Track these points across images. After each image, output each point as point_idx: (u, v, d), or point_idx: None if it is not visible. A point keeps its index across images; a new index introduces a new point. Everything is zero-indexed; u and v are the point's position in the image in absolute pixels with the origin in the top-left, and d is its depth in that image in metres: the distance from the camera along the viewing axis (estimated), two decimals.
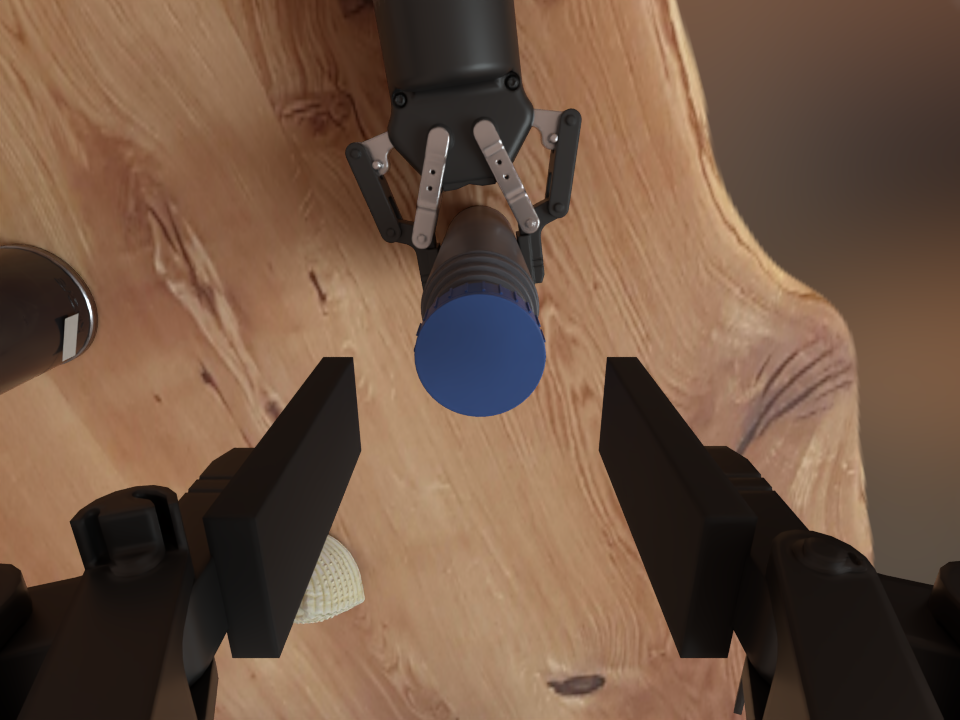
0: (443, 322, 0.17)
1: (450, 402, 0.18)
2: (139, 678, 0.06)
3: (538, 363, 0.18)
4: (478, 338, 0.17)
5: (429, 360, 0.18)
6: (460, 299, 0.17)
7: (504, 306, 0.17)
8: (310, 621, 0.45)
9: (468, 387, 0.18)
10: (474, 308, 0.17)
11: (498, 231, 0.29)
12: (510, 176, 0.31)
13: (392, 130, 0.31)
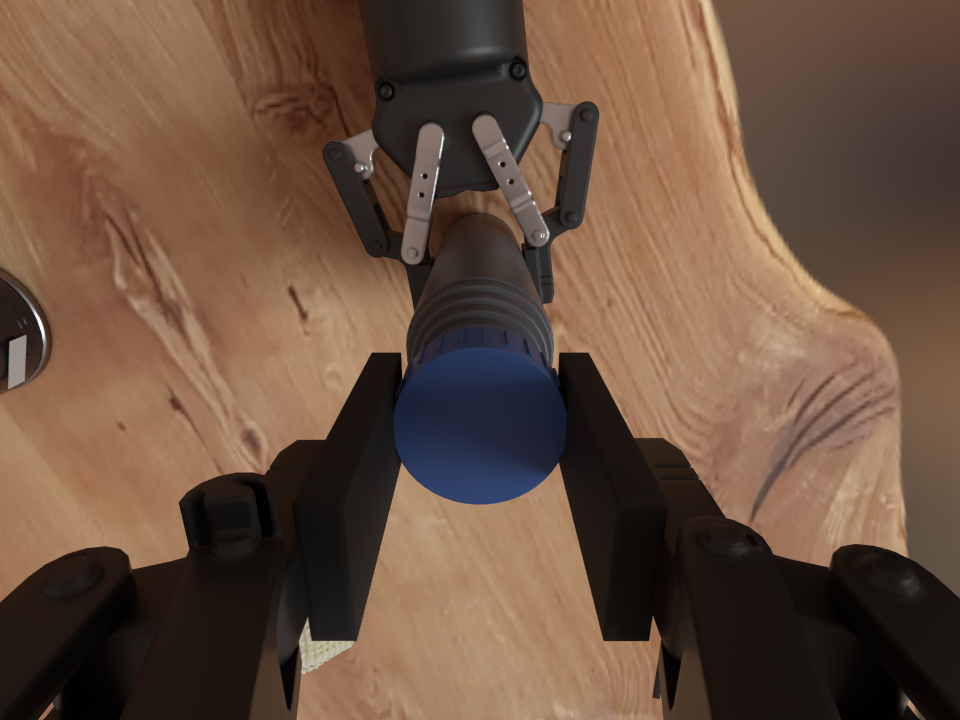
0: (430, 384, 0.13)
1: (440, 486, 0.14)
2: (240, 660, 0.06)
3: (558, 437, 0.13)
4: (477, 405, 0.13)
5: (412, 434, 0.13)
6: (453, 354, 0.12)
7: (513, 363, 0.13)
8: None
9: (464, 467, 0.13)
10: (472, 366, 0.13)
11: (501, 247, 0.24)
12: (515, 181, 0.27)
13: (377, 127, 0.27)
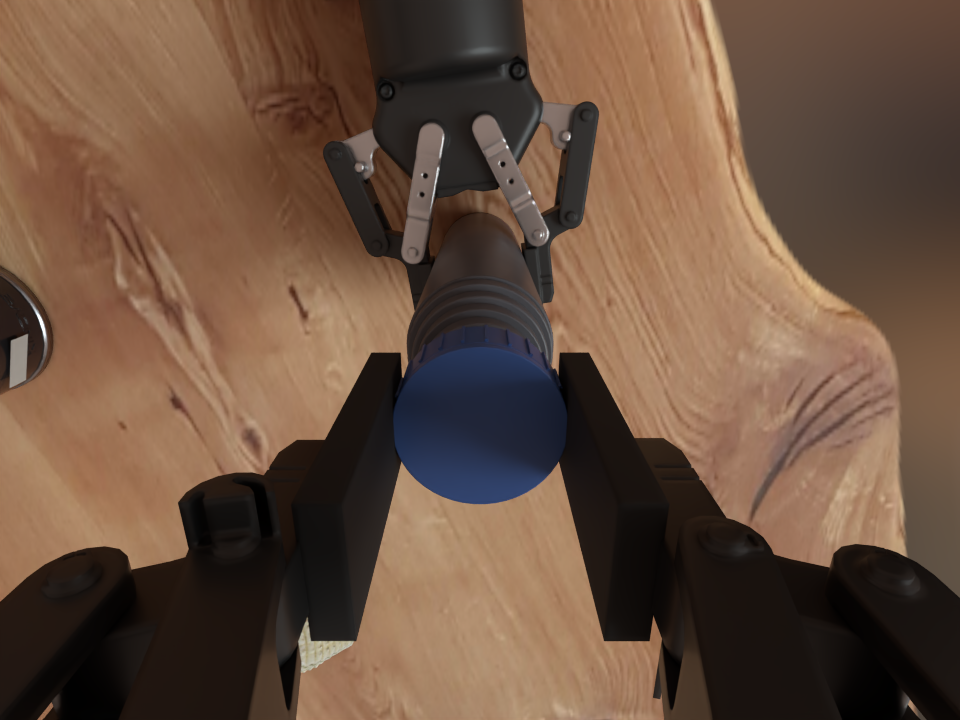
0: (444, 480, 0.14)
1: (552, 451, 0.13)
2: (239, 660, 0.06)
3: (467, 357, 0.12)
4: (453, 438, 0.13)
5: (499, 485, 0.14)
6: (409, 468, 0.14)
7: (401, 418, 0.13)
8: None
9: (525, 434, 0.13)
10: (415, 451, 0.13)
11: (501, 246, 0.24)
12: (515, 180, 0.27)
13: (377, 127, 0.27)
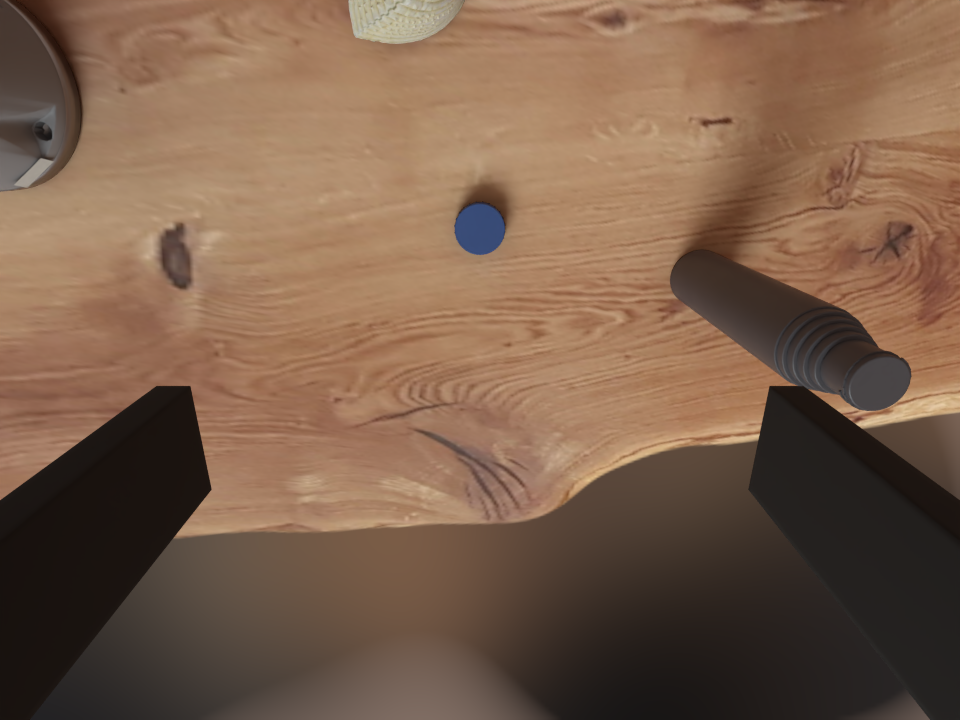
0: (460, 233, 0.46)
1: (488, 249, 0.47)
2: None
3: (494, 211, 0.46)
4: (472, 225, 0.46)
5: (470, 246, 0.47)
6: (456, 222, 0.46)
7: (467, 210, 0.46)
8: None
9: (487, 240, 0.47)
10: (462, 220, 0.46)
11: None
12: None
13: None
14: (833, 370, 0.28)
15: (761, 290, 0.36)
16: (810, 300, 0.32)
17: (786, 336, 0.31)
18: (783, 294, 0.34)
